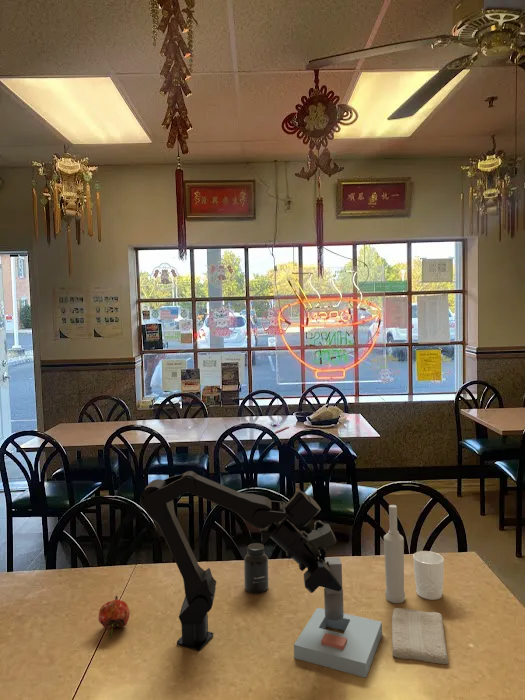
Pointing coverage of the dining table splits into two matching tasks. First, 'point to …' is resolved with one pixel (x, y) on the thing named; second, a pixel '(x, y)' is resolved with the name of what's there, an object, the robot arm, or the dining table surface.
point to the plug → (333, 597)
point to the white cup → (428, 574)
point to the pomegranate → (114, 614)
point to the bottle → (394, 560)
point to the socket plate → (339, 643)
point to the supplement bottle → (256, 569)
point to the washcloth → (418, 636)
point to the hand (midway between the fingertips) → (339, 585)
